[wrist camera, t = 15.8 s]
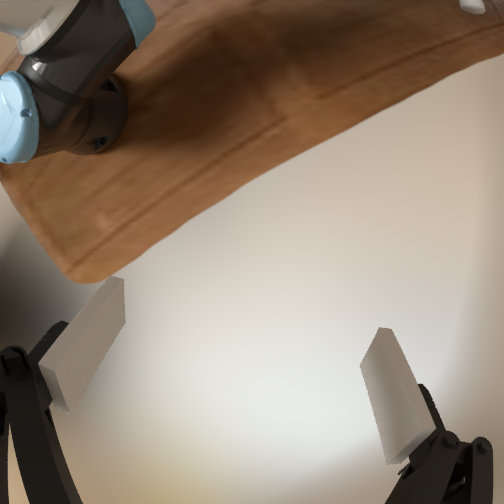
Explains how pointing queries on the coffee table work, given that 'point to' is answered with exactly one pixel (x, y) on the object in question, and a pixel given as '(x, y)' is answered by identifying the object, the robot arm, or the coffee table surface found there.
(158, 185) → the coffee table surface
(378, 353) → the robot arm
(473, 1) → the maple block
